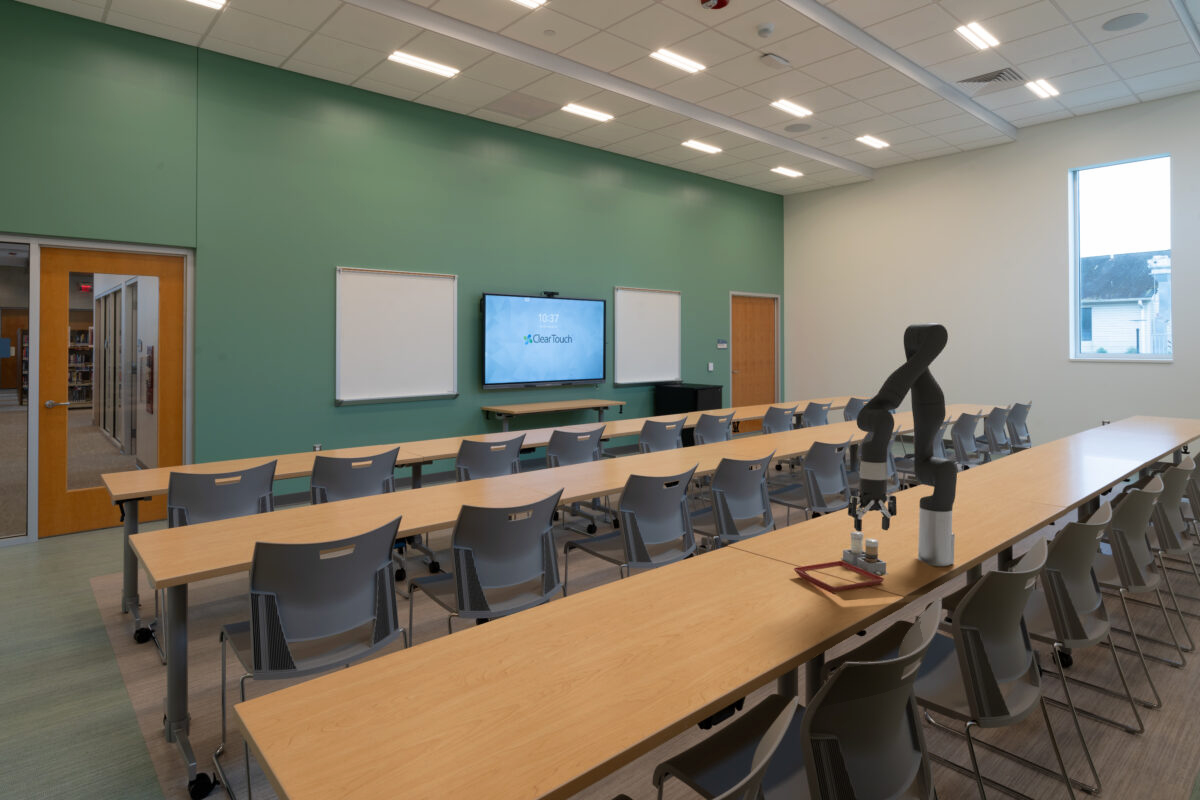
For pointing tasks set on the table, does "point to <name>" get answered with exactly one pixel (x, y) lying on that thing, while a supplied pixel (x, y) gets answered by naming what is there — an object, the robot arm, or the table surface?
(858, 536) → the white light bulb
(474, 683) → the table surface
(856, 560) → the block
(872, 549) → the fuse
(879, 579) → the plant saucer
